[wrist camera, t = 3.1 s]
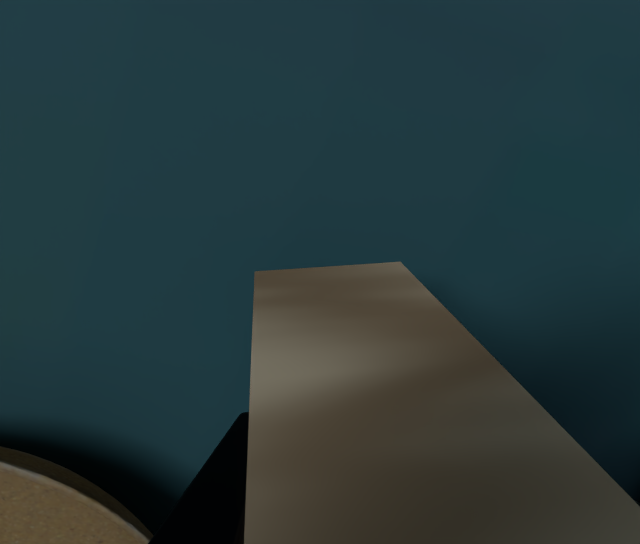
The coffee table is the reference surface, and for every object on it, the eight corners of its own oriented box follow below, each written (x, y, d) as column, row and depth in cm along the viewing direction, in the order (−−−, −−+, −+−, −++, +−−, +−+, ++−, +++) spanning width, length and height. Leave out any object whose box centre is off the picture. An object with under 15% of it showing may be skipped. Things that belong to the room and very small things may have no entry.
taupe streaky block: (400, 261, 9) (1053, 928, 2) (393, 455, 11) (698, 1228, 3) (255, 271, 9) (217, 1164, 1) (270, 469, 10) (296, 1360, 3)
